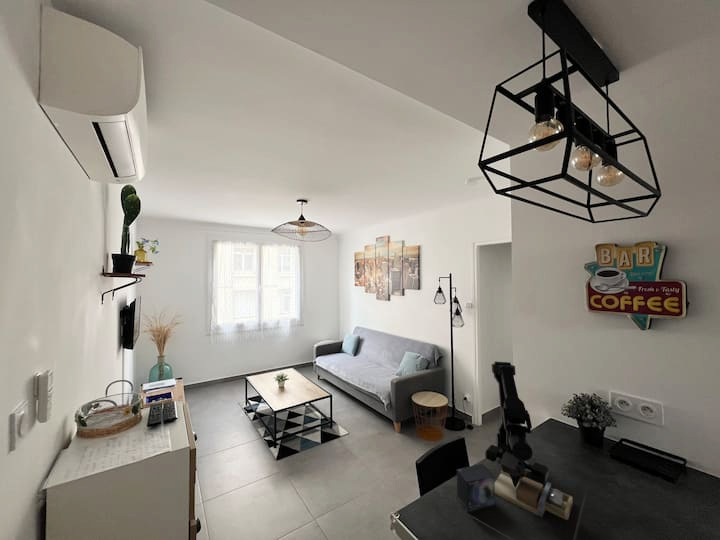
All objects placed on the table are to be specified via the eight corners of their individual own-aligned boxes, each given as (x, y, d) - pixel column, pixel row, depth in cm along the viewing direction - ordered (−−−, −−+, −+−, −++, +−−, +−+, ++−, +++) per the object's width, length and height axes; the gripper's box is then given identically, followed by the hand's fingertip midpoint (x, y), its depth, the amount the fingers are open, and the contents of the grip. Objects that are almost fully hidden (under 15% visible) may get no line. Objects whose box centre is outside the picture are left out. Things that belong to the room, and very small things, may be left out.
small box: (468, 515, 92) (467, 482, 92) (456, 499, 99) (455, 468, 99) (496, 507, 95) (495, 475, 95) (482, 492, 101) (482, 462, 101)
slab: (523, 486, 103) (523, 476, 103) (543, 495, 99) (543, 484, 99) (516, 499, 97) (516, 488, 97) (536, 509, 93) (536, 498, 93)
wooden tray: (501, 473, 111) (501, 462, 111) (572, 504, 95) (572, 492, 95) (488, 492, 101) (488, 480, 101) (565, 530, 86) (565, 516, 86)
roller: (549, 508, 94) (546, 496, 94) (552, 499, 97) (549, 487, 98) (562, 511, 91) (559, 499, 92) (565, 502, 95) (562, 490, 96)
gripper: (479, 441, 102) (479, 485, 102) (540, 466, 89) (540, 517, 89) (491, 428, 110) (491, 469, 110) (549, 449, 97) (549, 496, 97)
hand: (515, 486), depth 101 cm, fingers closed
